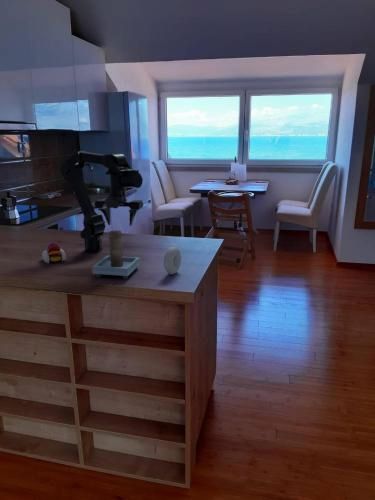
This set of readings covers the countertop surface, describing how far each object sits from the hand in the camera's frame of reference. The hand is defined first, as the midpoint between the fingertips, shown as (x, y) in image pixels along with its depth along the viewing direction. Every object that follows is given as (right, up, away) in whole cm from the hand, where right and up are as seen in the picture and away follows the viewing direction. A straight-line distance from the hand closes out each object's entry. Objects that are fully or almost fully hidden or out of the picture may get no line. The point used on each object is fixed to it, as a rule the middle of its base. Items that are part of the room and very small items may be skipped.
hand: (120, 225), depth 157 cm
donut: (+22, -19, -17) cm, 34 cm away
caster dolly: (+2, -18, -16) cm, 25 cm away
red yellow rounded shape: (-26, -15, -1) cm, 30 cm away
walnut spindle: (+2, -16, -17) cm, 23 cm away
